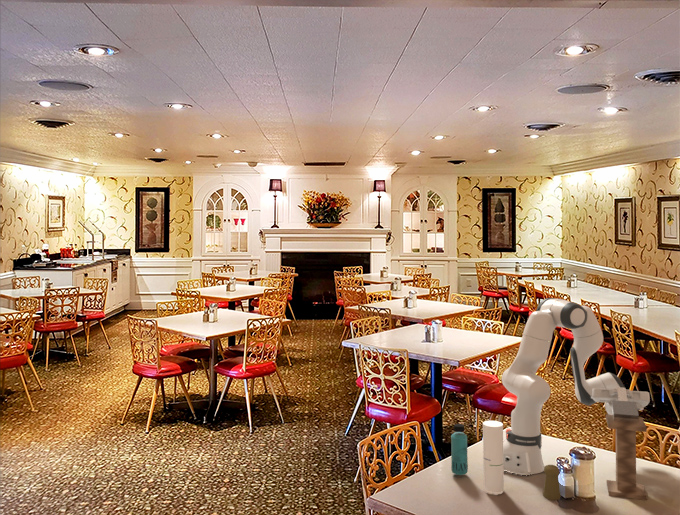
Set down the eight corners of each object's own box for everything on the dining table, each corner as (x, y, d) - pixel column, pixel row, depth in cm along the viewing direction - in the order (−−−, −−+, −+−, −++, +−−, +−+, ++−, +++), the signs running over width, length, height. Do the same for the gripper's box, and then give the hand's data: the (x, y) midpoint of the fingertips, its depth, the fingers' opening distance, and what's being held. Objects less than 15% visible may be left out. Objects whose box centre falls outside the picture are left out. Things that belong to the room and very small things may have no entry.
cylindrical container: (490, 485, 214) (489, 419, 213) (507, 490, 209) (506, 423, 208) (480, 491, 209) (478, 423, 208) (497, 497, 204) (496, 428, 203)
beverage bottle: (449, 477, 221) (448, 426, 221) (453, 471, 227) (452, 421, 227) (466, 479, 219) (465, 428, 218) (469, 473, 225) (468, 423, 224)
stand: (609, 496, 202) (608, 424, 201) (606, 482, 213) (605, 414, 213) (647, 501, 198) (646, 427, 197) (642, 487, 209) (641, 417, 208)
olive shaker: (562, 500, 200) (562, 469, 200) (544, 499, 201) (543, 468, 201) (559, 493, 206) (559, 463, 205) (541, 492, 207) (541, 462, 207)
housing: (613, 420, 205) (613, 413, 204) (609, 391, 221) (609, 384, 220) (638, 422, 202) (638, 415, 201) (632, 392, 218) (632, 385, 217)
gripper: (590, 390, 233) (591, 381, 222) (646, 394, 226) (650, 384, 214) (590, 406, 230) (592, 397, 219) (647, 410, 223) (652, 401, 212)
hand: (621, 391), depth 217 cm, fingers closed on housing, 3 cm apart
